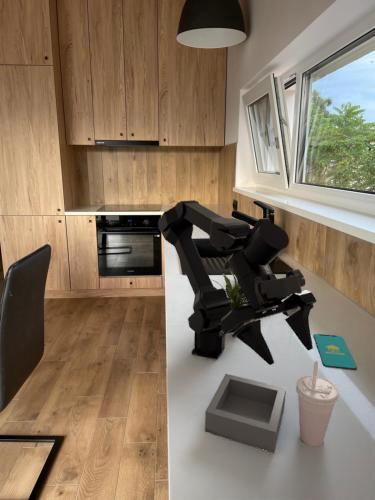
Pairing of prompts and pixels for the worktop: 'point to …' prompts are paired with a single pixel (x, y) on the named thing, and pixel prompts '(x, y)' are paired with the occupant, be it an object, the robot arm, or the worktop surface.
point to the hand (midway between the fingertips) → (292, 356)
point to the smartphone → (334, 352)
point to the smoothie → (315, 406)
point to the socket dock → (246, 412)
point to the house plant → (234, 293)
